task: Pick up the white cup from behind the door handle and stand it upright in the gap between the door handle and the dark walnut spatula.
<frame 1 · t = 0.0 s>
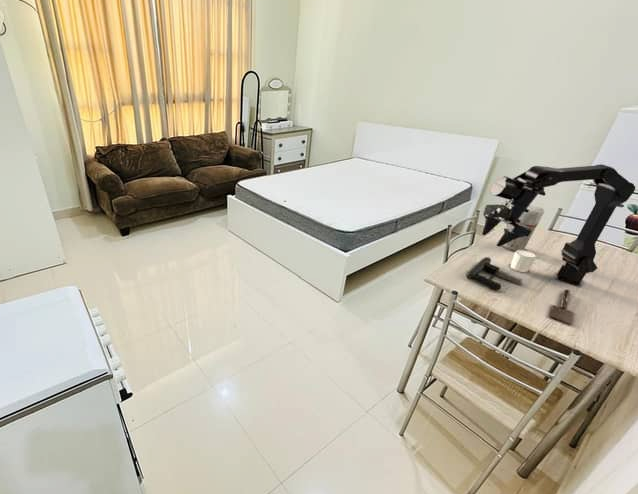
hand: (490, 240, 119), 15 cm above the table, tool pointing down, fingers open, 9 cm apart
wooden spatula: (562, 306, 110), on the table
spray can: (513, 248, 146), on the table
white cup: (518, 268, 131), on the table
door handle: (492, 278, 125), on the table
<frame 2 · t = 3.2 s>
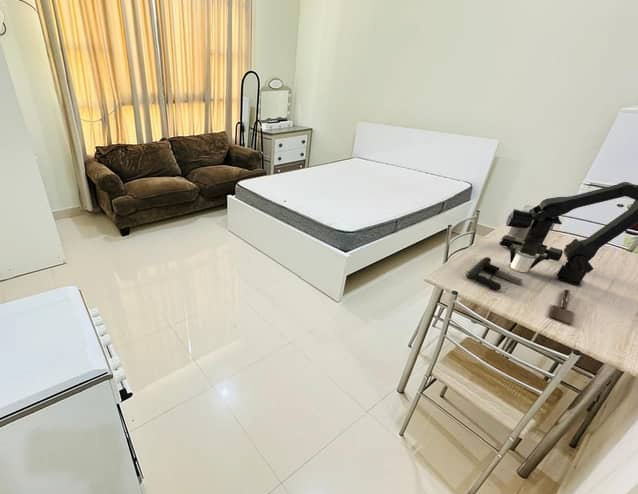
hand: (520, 265, 130), 1 cm above the table, tool pointing down, fingers closed on white cup, 6 cm apart
white cup: (518, 268, 131), on the table, touching gripper
everything else where it was.
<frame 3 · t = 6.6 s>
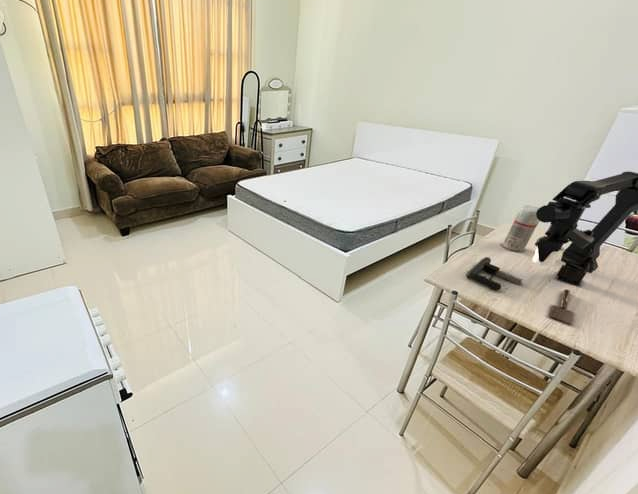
hand: (543, 259, 116), 11 cm above the table, tool pointing down, fingers closed on white cup, 6 cm apart
white cup: (541, 262, 116), point 10 cm above the table, touching gripper
everything else where it was.
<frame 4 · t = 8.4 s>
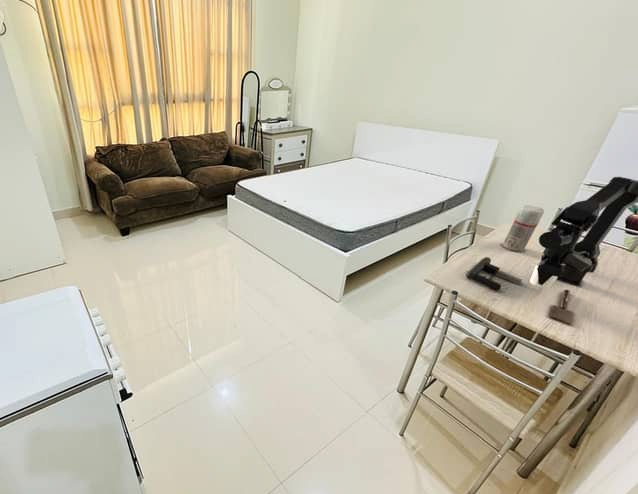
hand: (541, 280, 114), 5 cm above the table, tool pointing down, fingers closed on white cup, 6 cm apart
white cup: (539, 284, 115), point 4 cm above the table, touching gripper
everything else where it was.
when the fingers open (1 cm above the table, at t = 9.9 s): white cup stays where it is, on the table.
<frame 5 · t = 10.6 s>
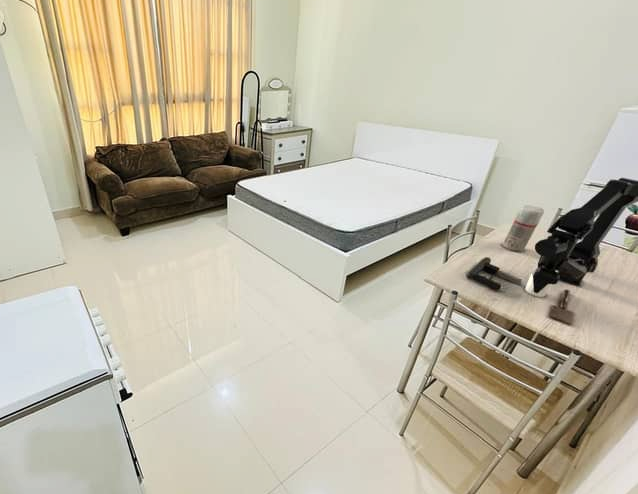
hand: (537, 287, 116), 2 cm above the table, tool pointing down, fingers open, 9 cm apart
white cup: (534, 292, 117), on the table
everything else where it was.
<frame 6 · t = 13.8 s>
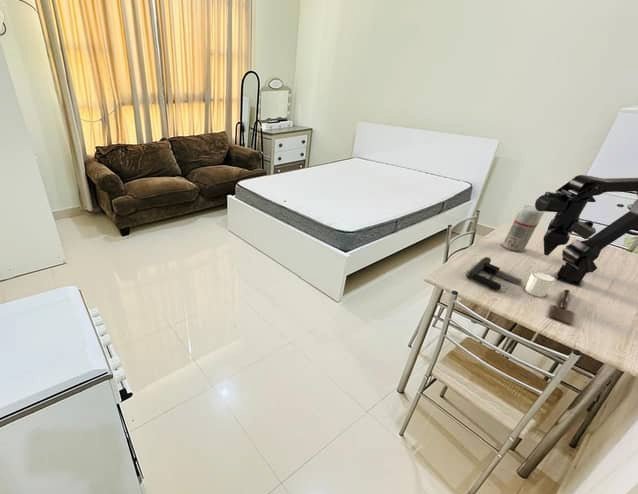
hand: (547, 250, 120), 12 cm above the table, tool pointing down, fingers open, 9 cm apart
nothing on the table moved.
at the end: white cup inside the target area (0.3 cm from its centre), on the table; white cup tilted 0°; door handle moved 0.2 cm from its start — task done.
